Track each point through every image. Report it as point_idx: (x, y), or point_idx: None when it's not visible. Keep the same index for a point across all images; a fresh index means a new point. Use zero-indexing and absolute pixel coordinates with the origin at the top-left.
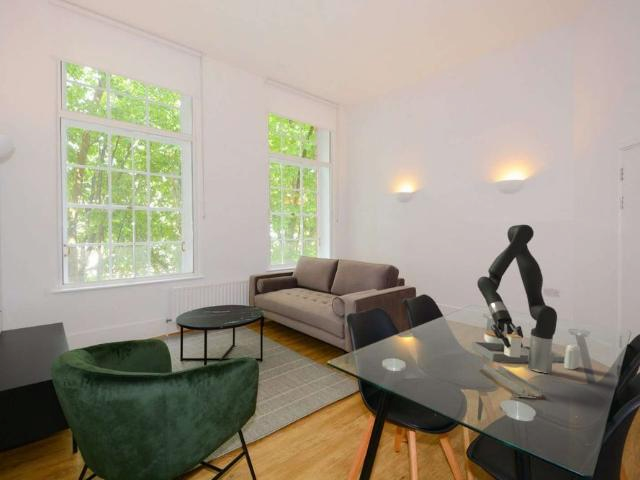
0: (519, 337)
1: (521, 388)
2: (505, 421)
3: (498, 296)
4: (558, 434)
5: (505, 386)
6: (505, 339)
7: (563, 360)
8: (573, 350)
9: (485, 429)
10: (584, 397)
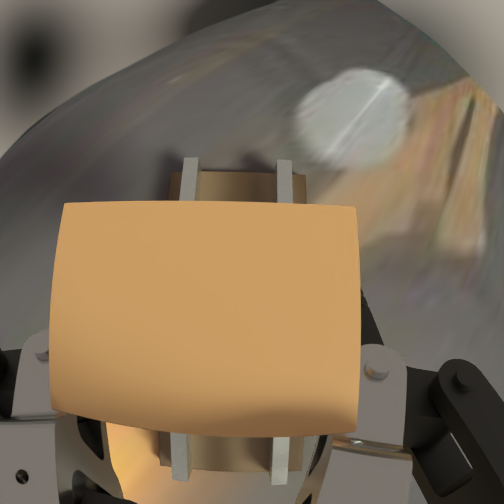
0: (123, 209)
1: (286, 169)
2: (422, 78)
3: None
4: (321, 28)
5: None
6: (367, 337)
7: None
8: None
9: (467, 73)
10: (5, 208)
